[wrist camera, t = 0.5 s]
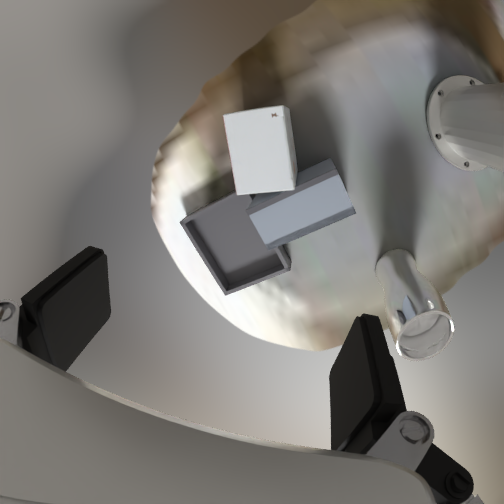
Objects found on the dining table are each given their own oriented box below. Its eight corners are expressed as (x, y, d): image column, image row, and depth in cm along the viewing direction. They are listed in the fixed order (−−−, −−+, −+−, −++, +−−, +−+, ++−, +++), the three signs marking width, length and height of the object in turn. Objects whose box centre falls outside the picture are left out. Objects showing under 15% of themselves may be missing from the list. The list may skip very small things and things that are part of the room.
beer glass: (376, 295, 42) (397, 369, 28) (367, 253, 39) (390, 321, 26) (420, 282, 39) (455, 351, 26) (414, 239, 37) (456, 300, 24)
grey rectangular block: (330, 157, 35) (336, 168, 28) (347, 194, 37) (356, 214, 29) (258, 191, 38) (245, 210, 31) (276, 225, 40) (268, 252, 33)
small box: (244, 113, 35) (220, 112, 25) (290, 107, 33) (283, 102, 24) (254, 176, 38) (234, 197, 28) (298, 171, 37) (295, 191, 27)
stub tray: (249, 183, 38) (245, 187, 36) (291, 261, 42) (290, 270, 39) (186, 216, 42) (179, 222, 39) (229, 286, 45) (225, 295, 43)
